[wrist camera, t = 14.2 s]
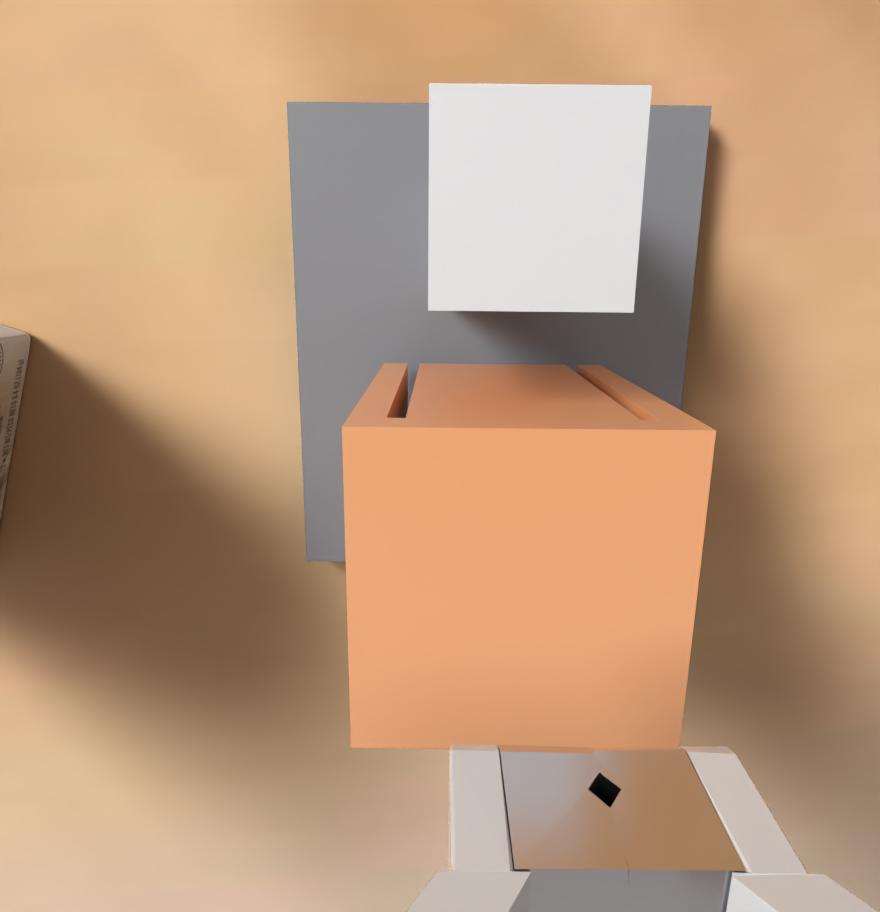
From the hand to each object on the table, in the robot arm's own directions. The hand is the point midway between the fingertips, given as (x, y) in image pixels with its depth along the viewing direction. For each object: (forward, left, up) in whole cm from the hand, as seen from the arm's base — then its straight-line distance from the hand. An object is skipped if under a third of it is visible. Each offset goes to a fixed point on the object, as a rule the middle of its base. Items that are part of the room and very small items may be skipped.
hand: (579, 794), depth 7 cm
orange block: (0, 0, -14) cm, 14 cm away
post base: (-3, 0, -16) cm, 16 cm away
